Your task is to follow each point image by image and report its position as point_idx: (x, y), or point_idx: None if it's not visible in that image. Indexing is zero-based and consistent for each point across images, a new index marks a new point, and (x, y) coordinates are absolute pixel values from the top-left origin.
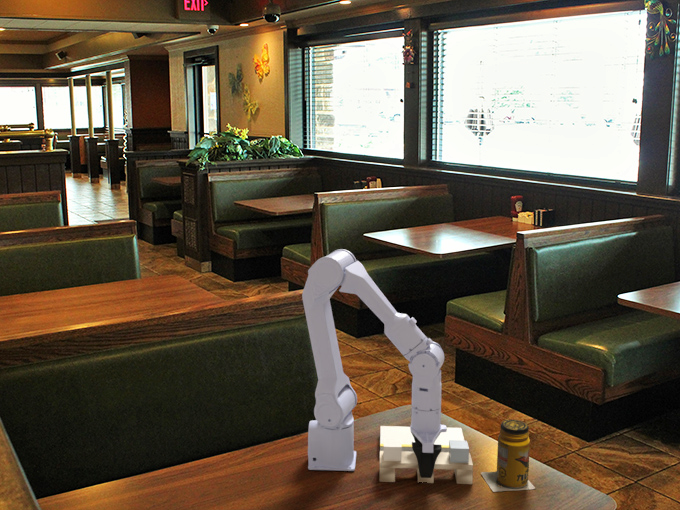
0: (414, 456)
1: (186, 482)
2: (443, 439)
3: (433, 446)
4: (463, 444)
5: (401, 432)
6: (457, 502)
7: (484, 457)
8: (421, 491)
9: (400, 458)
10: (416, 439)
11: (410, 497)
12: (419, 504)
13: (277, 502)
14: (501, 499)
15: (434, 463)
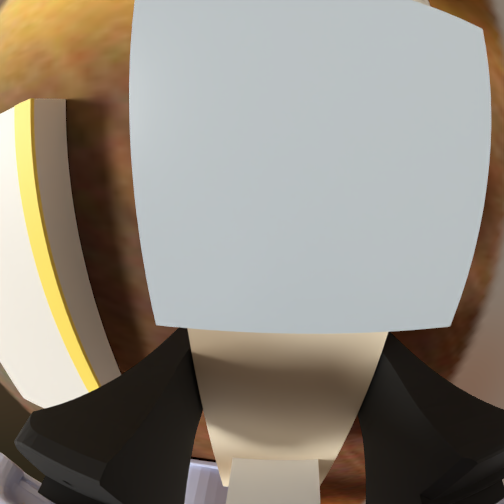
0: (266, 429)
1: None
2: None
3: (466, 484)
4: (328, 61)
5: (19, 364)
6: (501, 196)
7: (69, 19)
8: (407, 330)
9: (318, 473)
10: (183, 480)
11: (431, 360)
12: (474, 332)
13: (361, 500)
14: (470, 6)
15: (429, 369)
